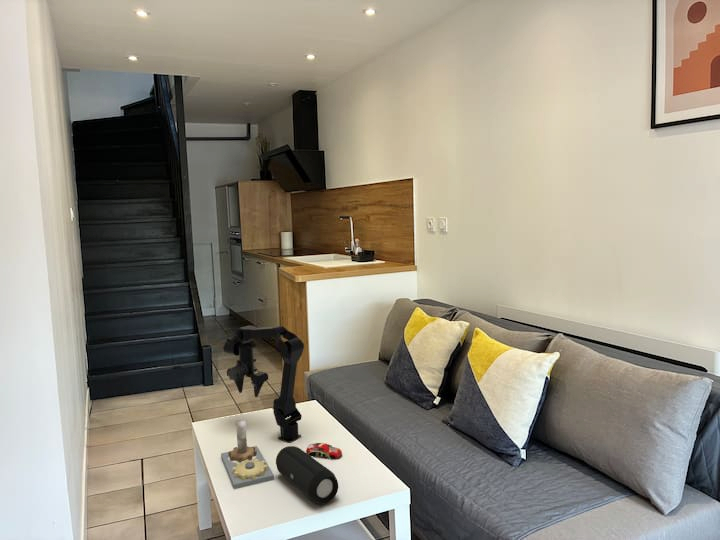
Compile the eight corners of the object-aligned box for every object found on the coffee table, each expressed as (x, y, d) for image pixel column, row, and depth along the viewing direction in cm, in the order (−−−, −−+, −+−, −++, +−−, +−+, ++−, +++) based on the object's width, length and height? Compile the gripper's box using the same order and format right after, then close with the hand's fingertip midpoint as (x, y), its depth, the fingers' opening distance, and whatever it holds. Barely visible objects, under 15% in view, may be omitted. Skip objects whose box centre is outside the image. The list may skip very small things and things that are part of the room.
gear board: (221, 457, 193) (220, 446, 192) (257, 449, 198) (256, 439, 198) (234, 489, 171) (233, 476, 171) (274, 479, 176) (273, 467, 176)
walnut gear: (258, 449, 195) (257, 416, 193) (254, 462, 185) (252, 427, 184) (232, 450, 195) (230, 416, 193) (225, 462, 185) (223, 428, 183)
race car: (344, 454, 193) (344, 444, 192) (338, 461, 188) (338, 451, 187) (311, 449, 197) (310, 439, 197) (304, 456, 192) (304, 445, 192)
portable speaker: (274, 477, 178) (272, 448, 177) (300, 467, 184) (299, 440, 183) (313, 511, 157) (311, 479, 156) (341, 500, 163) (340, 469, 162)
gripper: (215, 358, 215) (217, 396, 217) (247, 366, 204) (249, 405, 206) (236, 352, 224) (238, 388, 226) (268, 359, 213) (270, 396, 215)
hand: (248, 394), depth 218 cm, fingers open, 9 cm apart
